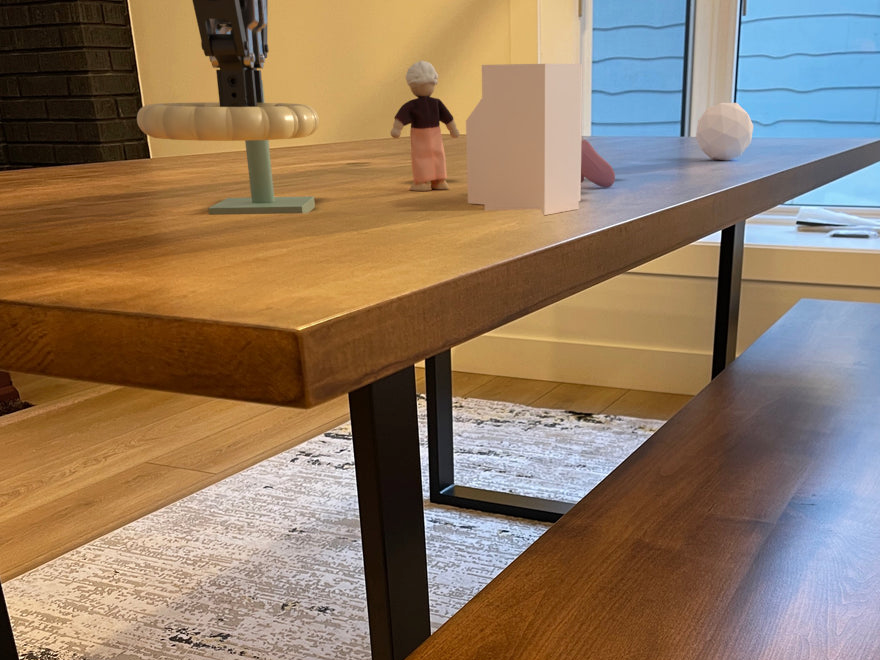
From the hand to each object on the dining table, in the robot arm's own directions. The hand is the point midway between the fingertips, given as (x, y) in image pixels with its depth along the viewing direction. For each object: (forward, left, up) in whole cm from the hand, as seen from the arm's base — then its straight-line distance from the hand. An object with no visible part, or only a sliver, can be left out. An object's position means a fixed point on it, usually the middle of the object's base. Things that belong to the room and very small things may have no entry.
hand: (244, 130), depth 65 cm
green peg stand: (-4, +24, -8) cm, 25 cm away
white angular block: (+20, +27, -8) cm, 34 cm away
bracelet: (0, -4, +1) cm, 4 cm away
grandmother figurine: (+10, +43, -8) cm, 45 cm away
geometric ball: (+51, +78, -8) cm, 93 cm away
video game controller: (+26, +45, -8) cm, 52 cm away
